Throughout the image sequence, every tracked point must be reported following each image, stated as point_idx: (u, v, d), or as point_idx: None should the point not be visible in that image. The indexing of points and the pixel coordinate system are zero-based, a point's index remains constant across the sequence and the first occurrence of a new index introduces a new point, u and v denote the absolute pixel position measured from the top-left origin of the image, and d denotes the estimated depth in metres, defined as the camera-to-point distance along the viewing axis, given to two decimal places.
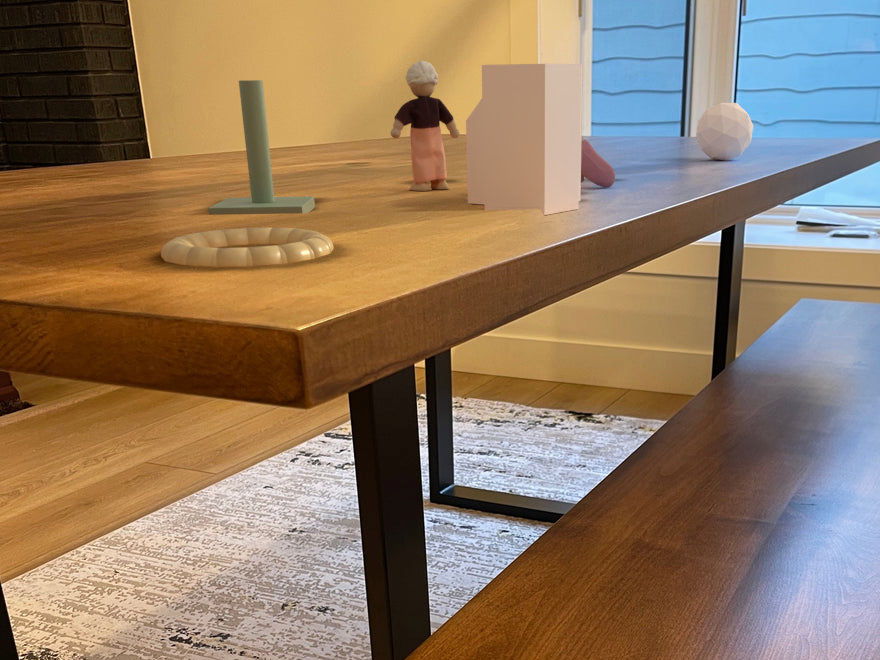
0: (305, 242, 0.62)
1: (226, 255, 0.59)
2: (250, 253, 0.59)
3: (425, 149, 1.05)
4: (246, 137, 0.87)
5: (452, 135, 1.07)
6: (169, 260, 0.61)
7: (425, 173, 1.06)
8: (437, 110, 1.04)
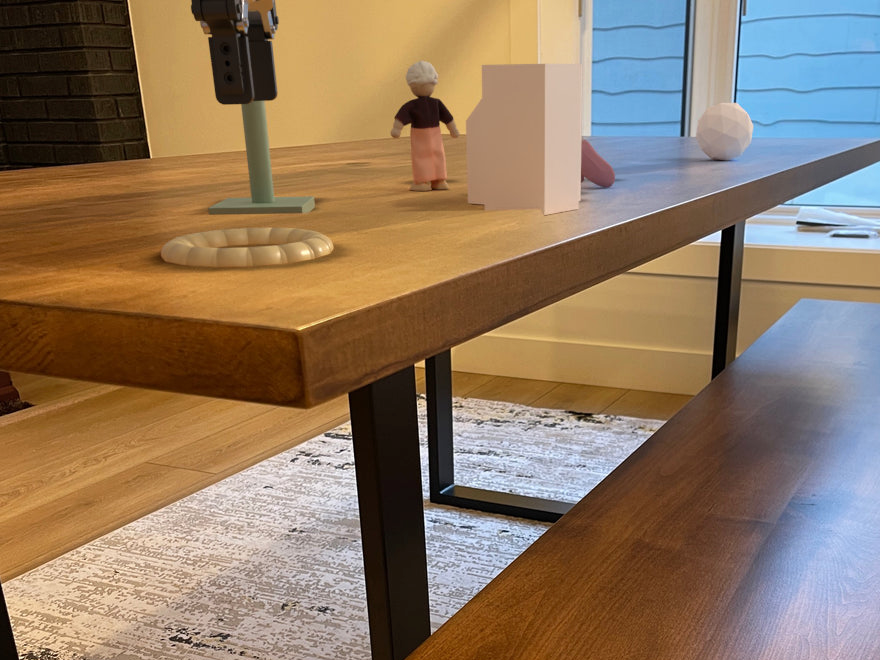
0: (305, 242, 0.62)
1: (226, 255, 0.59)
2: (250, 253, 0.59)
3: (425, 149, 1.05)
4: (246, 137, 0.87)
5: (452, 135, 1.07)
6: (169, 260, 0.61)
7: (425, 173, 1.06)
8: (437, 110, 1.04)
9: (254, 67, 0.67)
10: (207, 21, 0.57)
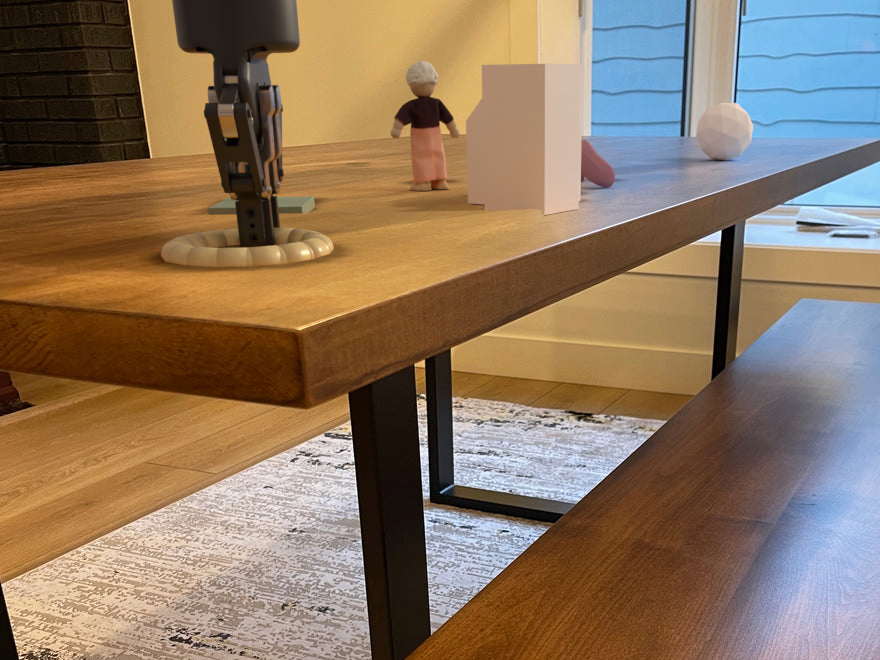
0: (305, 242, 0.62)
1: (226, 255, 0.59)
2: (250, 253, 0.59)
3: (425, 149, 1.05)
4: None
5: (452, 135, 1.07)
6: (169, 260, 0.61)
7: (425, 173, 1.06)
8: (437, 110, 1.04)
9: None
10: (235, 193, 0.63)
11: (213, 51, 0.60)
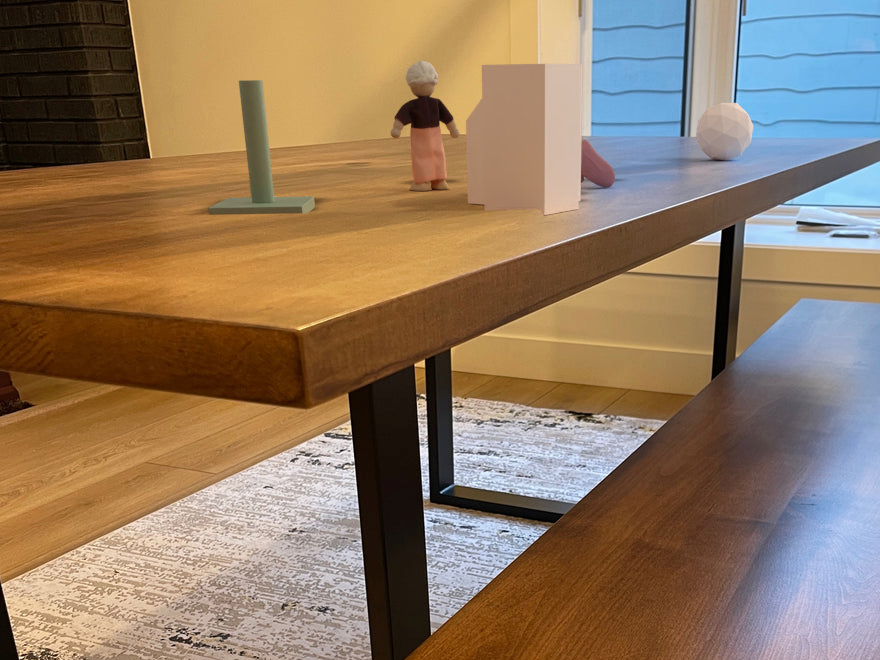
0: None
1: None
2: None
3: (425, 149, 1.05)
4: (246, 137, 0.87)
5: (452, 135, 1.07)
6: None
7: (425, 173, 1.06)
8: (437, 110, 1.04)
9: None
10: None
11: None
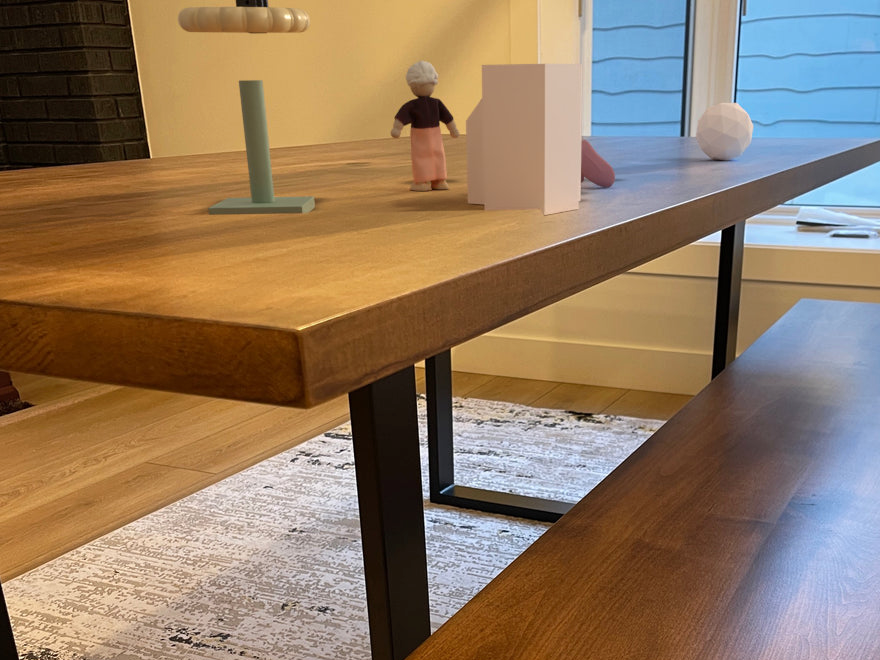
0: (287, 8, 0.81)
1: (226, 11, 0.79)
2: (244, 10, 0.79)
3: (425, 149, 1.05)
4: (246, 137, 0.87)
5: (452, 135, 1.07)
6: (184, 18, 0.81)
7: (425, 173, 1.06)
8: (437, 110, 1.04)
9: None
10: None
11: None
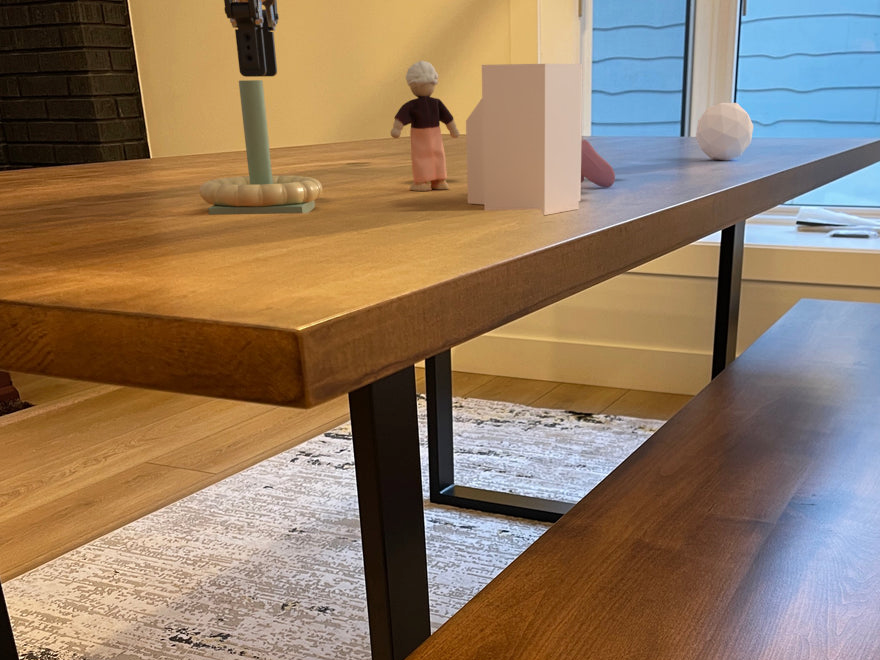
0: (300, 182, 0.87)
1: (244, 189, 0.85)
2: (261, 188, 0.85)
3: (425, 149, 1.05)
4: (246, 137, 0.87)
5: (452, 135, 1.07)
6: (205, 194, 0.87)
7: (425, 173, 1.06)
8: (437, 110, 1.04)
9: None
10: (235, 18, 0.83)
11: None
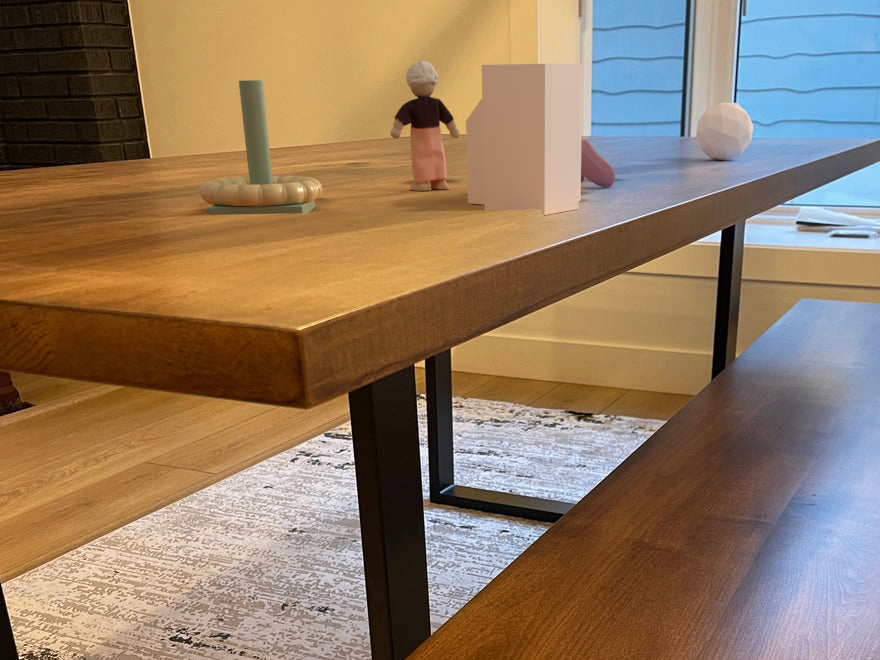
0: (300, 182, 0.87)
1: (244, 189, 0.85)
2: (261, 188, 0.85)
3: (425, 149, 1.05)
4: (246, 137, 0.87)
5: (452, 135, 1.07)
6: (205, 194, 0.87)
7: (425, 173, 1.06)
8: (437, 110, 1.04)
9: None
10: None
11: None
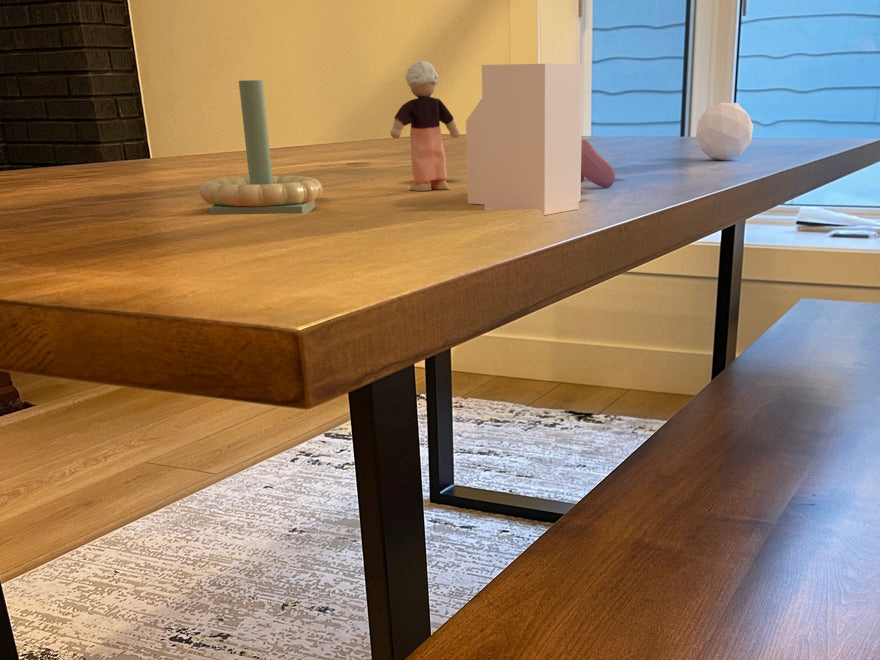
0: (300, 182, 0.87)
1: (244, 189, 0.85)
2: (261, 188, 0.85)
3: (425, 149, 1.05)
4: (246, 137, 0.87)
5: (452, 135, 1.07)
6: (205, 194, 0.87)
7: (425, 173, 1.06)
8: (437, 110, 1.04)
9: None
10: None
11: None
